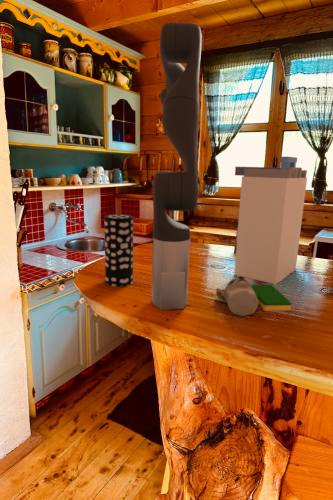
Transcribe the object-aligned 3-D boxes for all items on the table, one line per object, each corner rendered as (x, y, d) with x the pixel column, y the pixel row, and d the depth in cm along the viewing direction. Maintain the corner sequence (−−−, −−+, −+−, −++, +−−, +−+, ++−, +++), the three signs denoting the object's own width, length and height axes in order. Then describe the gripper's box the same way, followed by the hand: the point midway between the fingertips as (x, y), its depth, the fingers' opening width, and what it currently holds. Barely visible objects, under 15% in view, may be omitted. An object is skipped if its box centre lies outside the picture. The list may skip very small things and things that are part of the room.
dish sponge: (263, 312, 85) (264, 303, 84) (246, 292, 98) (247, 284, 98) (291, 312, 86) (292, 303, 85) (270, 292, 99) (271, 284, 98)
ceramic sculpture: (224, 283, 78) (215, 268, 92) (221, 319, 79) (213, 298, 94) (270, 285, 77) (254, 269, 92) (267, 321, 79) (252, 300, 94)
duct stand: (295, 269, 120) (309, 157, 111) (275, 284, 104) (289, 155, 95) (258, 262, 128) (268, 157, 119) (234, 274, 113) (243, 155, 103)
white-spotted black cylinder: (136, 279, 106) (137, 215, 101) (126, 288, 98) (126, 219, 93) (112, 276, 108) (111, 213, 103) (100, 284, 100) (99, 217, 95)
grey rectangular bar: (300, 177, 110) (301, 167, 109) (297, 177, 108) (298, 167, 107) (238, 175, 123) (239, 166, 122) (234, 175, 121) (235, 166, 120)
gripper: (194, 124, 111) (206, 168, 108) (197, 144, 125) (207, 184, 122) (172, 130, 112) (183, 175, 109) (177, 149, 126) (187, 190, 123)
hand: (196, 180), depth 115 cm, fingers open, 8 cm apart
